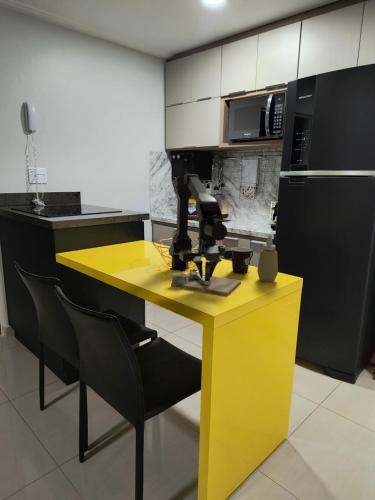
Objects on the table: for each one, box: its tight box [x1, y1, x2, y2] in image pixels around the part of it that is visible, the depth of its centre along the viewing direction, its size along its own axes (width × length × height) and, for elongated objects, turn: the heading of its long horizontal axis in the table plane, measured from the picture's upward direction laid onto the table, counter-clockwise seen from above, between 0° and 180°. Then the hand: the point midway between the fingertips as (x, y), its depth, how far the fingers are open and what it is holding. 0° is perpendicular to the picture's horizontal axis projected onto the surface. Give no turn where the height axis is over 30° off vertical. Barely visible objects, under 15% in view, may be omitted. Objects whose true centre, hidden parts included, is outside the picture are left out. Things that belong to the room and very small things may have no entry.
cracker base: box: [170, 272, 242, 297], centre depth 127 cm, size 22×16×4 cm
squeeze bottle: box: [256, 235, 279, 283], centre depth 133 cm, size 8×8×18 cm
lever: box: [189, 260, 211, 285], centre depth 129 cm, size 15×5×8 cm, turn 20°
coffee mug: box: [230, 246, 254, 275], centre depth 146 cm, size 12×9×10 cm
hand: (205, 277), depth 123 cm, fingers open, 3 cm apart
